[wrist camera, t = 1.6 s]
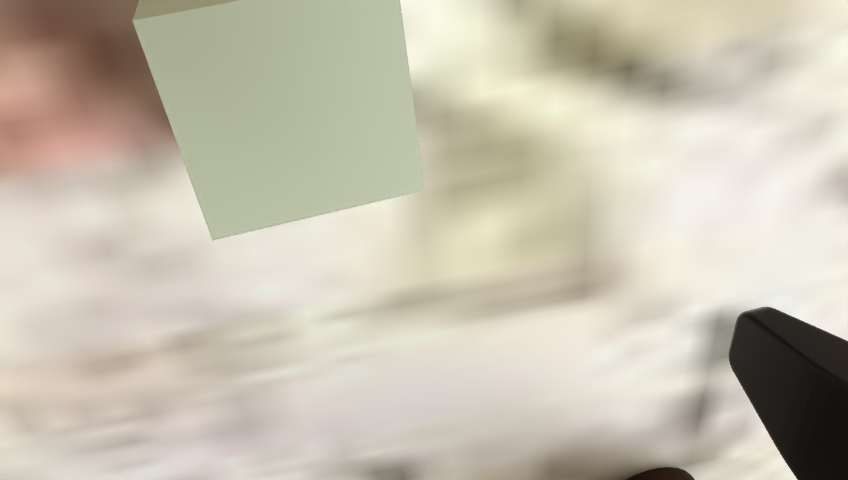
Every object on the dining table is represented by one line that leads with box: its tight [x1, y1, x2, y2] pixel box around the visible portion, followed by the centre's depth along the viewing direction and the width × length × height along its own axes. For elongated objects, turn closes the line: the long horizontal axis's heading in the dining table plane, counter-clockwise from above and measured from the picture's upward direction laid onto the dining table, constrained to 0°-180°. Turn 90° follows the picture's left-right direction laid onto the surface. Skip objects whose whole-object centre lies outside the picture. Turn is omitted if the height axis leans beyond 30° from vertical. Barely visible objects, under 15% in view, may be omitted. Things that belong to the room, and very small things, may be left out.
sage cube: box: [132, 0, 425, 240], centre depth 16 cm, size 5×5×5 cm
